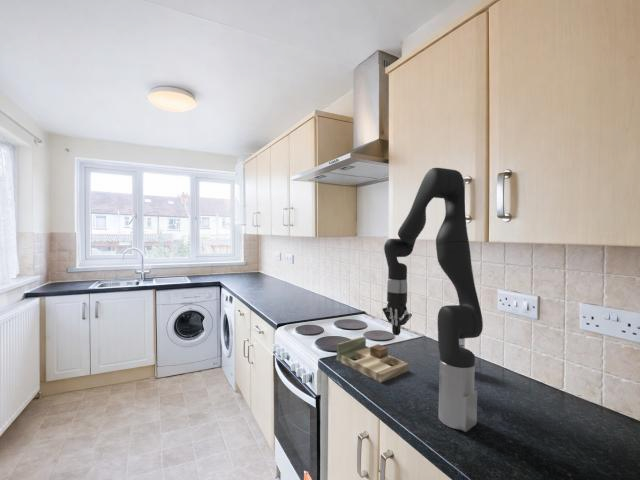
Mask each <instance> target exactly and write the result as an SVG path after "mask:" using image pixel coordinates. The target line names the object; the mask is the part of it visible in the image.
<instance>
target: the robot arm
mask: <svg viewBox="0 0 640 480" xmlns="http://www.w3.org/2000/svg"><path fill="white" fill-rule="evenodd" d="M465 194H466V193H465V181H464V176H463V175H462V173H461V172H460V171H459V170H456V169H453V168H452V169H451V168H443V167H433V168H431V169H429V170H428V171H427V172H426V174H425V175H424V177H423V179H422V181H421V184H420V185H419V187H418V190H417V192H416V195H415V197H414V200H413V203H412V205H411V208H410V210H409V212H408V214H407V216H406V218H405V219H404V221H403V222H402V224H401V226H400V227H399V229H398V232H397V236H398V237H399V238H389V239H387V240H386V242H385V243H384V246H383V250H384V251H383V252H384V255H385V259H386V263H387V269H388V273H387V275H388V276H387V277H388V280H387V284H386V285H387V288H386V289H387V290H386V291H387V293H386V301H387V304H386V306H385V307H383V308H382V311H383V313H384V316H385V318H386V320H387V322H388V323H390V324H391V326H392V330H391V331H392V335H394V336H400V334H401V327H402V326H404V325H406V324H407V323H408V321H409V320H410V319H411V318H412V313H409V311H408V308H407V303H408V268H407V265H406V264H405V263H403V262H402V263H401V262H399V260H398V258H405V257H406V258H407V257H408V256H410V255H411V254H412V253H413V250H414V248H415V243H416V241H417V239H418V237H419V236H420V234H421V233H422V231H423V230H424V228H425V225H426V222H427V207H428V205H429V203H430V202H431V201H432V200H433V199H434V198H435V199H443V201H444V204H445V206H444V207H445V215H444V219H443V222H442V223H441V225H440V227H439V230H438V231H437V234H436V237H435V249H436V257H437V263H438V265H439V266H440V267H441V269H442V271H443V272H444V273H445V275H446V276H447V277H448V279H449V280H450V281H451V283H452V284H453V287H454V288H455V291H456V294H457V298H458V304H459V305H458V304H454V305H450V304H449V305H444V306H441V308H439V311H438V313H437V345H438V350H439V351H438V352H439V371H438V373H439V375H438V377H439V378H438V381H439V382H438V420H439V421H440V422H441V423H442V424H444V425H445V426H447V427H448V428H451V429H454V430H460V431H462V432H464V433H466V432H468V431H470V430H471V429H472V428H473V427H474V426H476V425H477V423H478V422H477V417H478V416H477V414H478V391H477V390H475V374H476V373H475V372H476V371H475V370H476V368H475V367H476V366H475V365H476V355H475V354H474V353H473V351H471V350H470V349H468V348H466V347H465V348H463V347H460V346H459V339H461V338H465V339H475V338H478V337H480V336H481V334H482V333H483V329H484V328H483V327H484V323H483V321H484V320H483V316H482V315H483V314H482V311H481V305H480V302H479V298H478V293H477V290H476V284H475V278H474V272H473V265H472V258H471V257H472V255H471V248H470V247H471V246H470V242H469V236H468V227H467V219H466V218H467V216H466V204H465Z"/></svg>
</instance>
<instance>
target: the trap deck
mask: <svg viewBox="0 0 640 480" xmlns="http://www.w3.org/2000/svg"><path fill="white" fill-rule="evenodd" d="M366 340H367V337H366V336H360V337H357V338H352V339H349V340H346V341H342V342H339V343H336V361H337V362H339V363H341V364H343V365H345V366H347V367H349V368H351V369H353V370H355V371H356V372H358V373H360V374H363V375H365V376H366V377H368V378H369V379H370V378H371V379H372V380H375V382H378V383H380V384H382V383H383V382H386V381H389V380H391V379H393V378H395V377H398V376H400V375H402V374H405V373H407V372H409V363H408V362H405V361H403V360H401V359H399V358H396V357H394V356H392V355H391V356H390V355H389V354H387V356H386V357H384V358H381V359H378V358H376V357H373V356H371V355H370V347H369V346H366V344H367V343H366V342H367V341H366Z"/></svg>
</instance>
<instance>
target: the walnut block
mask: <svg viewBox="0 0 640 480" xmlns="http://www.w3.org/2000/svg"><path fill="white" fill-rule="evenodd" d="M369 348H370V355H371V356H373V357H376V358H378V359H381V358H384V357H386V356H387V355H389V354H388V351H389V350H388V349H389V348H388V347H387V346H385V345H382V344H379V343H378V344H375V345H371V346H370V347H369Z"/></svg>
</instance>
